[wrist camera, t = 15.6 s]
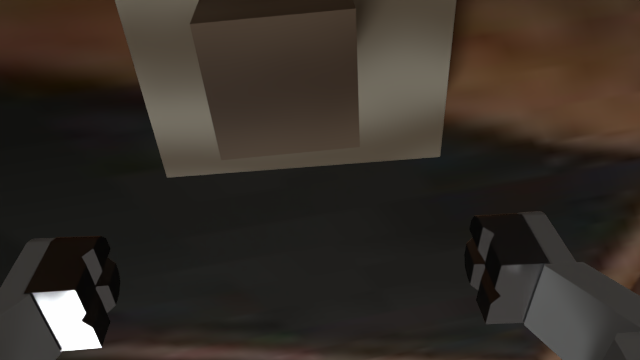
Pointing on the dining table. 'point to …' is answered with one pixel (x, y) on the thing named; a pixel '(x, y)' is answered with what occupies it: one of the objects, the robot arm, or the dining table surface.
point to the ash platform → (373, 85)
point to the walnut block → (279, 74)
